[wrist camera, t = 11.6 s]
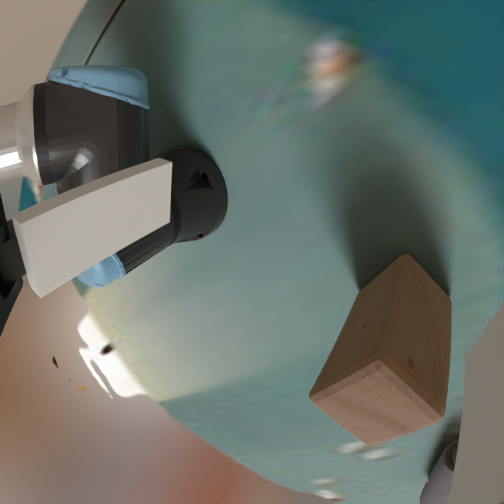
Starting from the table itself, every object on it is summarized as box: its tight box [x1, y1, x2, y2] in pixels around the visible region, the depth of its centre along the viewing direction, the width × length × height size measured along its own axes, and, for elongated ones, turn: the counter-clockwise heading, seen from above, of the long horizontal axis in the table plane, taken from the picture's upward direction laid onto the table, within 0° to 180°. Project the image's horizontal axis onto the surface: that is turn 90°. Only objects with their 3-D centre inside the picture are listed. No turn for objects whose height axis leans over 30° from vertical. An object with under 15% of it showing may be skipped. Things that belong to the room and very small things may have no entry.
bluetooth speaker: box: [420, 439, 459, 504], centre depth 43 cm, size 23×9×10 cm, turn 12°
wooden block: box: [309, 253, 451, 445], centre depth 32 cm, size 10×10×20 cm
